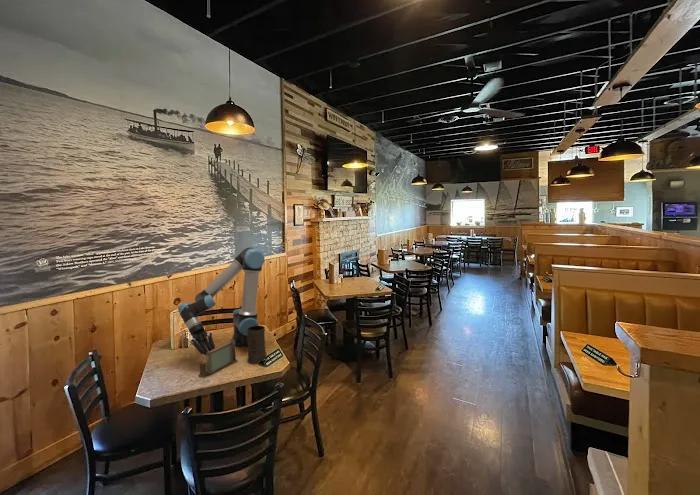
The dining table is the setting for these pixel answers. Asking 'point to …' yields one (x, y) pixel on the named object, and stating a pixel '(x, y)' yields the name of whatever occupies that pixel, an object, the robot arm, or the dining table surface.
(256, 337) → the beer stein
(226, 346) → the gate
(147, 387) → the dining table surface
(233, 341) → the gate frame
